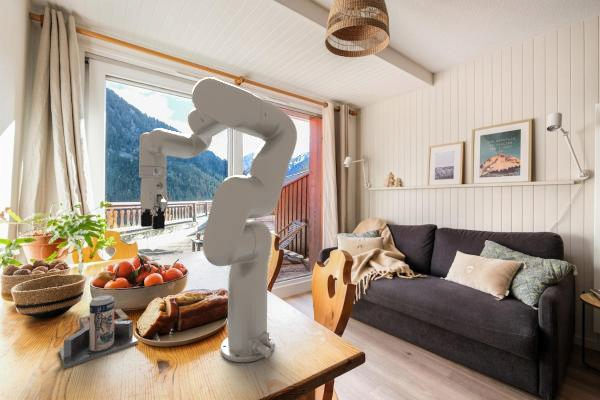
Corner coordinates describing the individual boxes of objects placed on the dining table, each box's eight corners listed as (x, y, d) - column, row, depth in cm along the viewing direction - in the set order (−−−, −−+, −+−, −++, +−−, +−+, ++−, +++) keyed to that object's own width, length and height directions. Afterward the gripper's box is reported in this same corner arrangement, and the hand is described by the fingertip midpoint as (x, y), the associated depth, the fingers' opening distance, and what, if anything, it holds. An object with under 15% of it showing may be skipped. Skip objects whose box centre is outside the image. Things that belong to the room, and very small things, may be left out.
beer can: (98, 354, 61) (98, 302, 61) (84, 350, 63) (84, 299, 63) (118, 343, 66) (119, 295, 66) (105, 340, 68) (105, 292, 68)
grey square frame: (128, 328, 76) (129, 317, 76) (85, 341, 69) (85, 329, 69) (119, 317, 82) (119, 308, 82) (79, 328, 75) (79, 318, 75)
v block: (137, 343, 68) (138, 324, 68) (64, 369, 57) (64, 346, 57) (126, 330, 74) (126, 313, 74) (59, 351, 64) (59, 331, 64)
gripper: (177, 172, 81) (176, 229, 81) (154, 175, 93) (154, 225, 93) (150, 170, 76) (150, 231, 76) (130, 174, 87) (129, 226, 87)
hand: (152, 227), depth 84 cm, fingers open, 9 cm apart
